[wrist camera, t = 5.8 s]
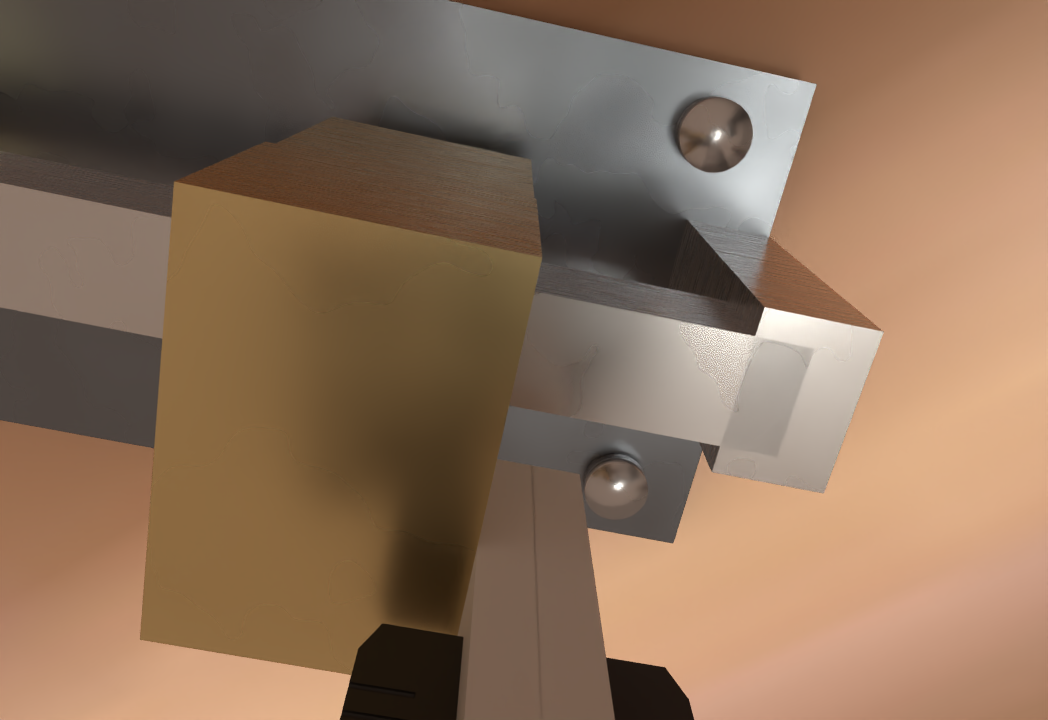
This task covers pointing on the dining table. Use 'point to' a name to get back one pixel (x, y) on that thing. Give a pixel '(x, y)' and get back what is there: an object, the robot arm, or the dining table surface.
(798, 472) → the dividers bar
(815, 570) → the dining table surface
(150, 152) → the hole plate
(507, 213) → the block
